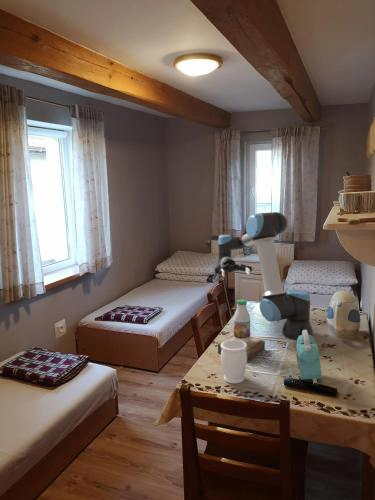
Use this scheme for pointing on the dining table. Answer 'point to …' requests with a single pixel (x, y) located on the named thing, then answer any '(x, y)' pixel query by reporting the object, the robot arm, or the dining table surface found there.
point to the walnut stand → (249, 347)
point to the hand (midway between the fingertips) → (236, 273)
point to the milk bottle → (242, 322)
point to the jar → (233, 360)
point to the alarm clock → (308, 357)
